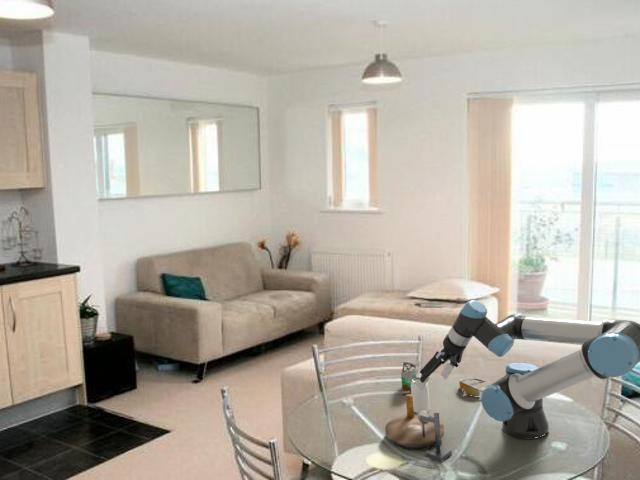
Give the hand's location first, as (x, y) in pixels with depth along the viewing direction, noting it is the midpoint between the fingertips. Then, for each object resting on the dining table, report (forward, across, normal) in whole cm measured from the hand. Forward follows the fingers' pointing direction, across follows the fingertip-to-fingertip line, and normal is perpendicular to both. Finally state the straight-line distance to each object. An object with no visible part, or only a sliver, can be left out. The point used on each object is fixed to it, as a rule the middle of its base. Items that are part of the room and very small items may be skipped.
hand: (431, 381), depth 231 cm
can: (+18, -6, 0) cm, 19 cm away
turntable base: (+12, +13, +11) cm, 21 cm away
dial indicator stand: (+6, +17, +20) cm, 27 cm away
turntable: (+10, +13, +9) cm, 19 cm away
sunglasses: (+14, -34, +4) cm, 37 cm away
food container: (+26, -18, -13) cm, 34 cm away
